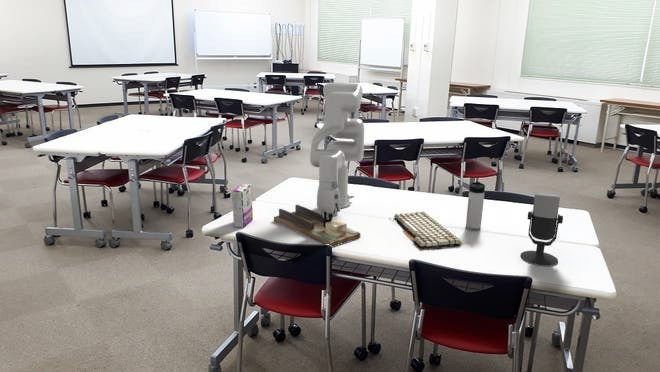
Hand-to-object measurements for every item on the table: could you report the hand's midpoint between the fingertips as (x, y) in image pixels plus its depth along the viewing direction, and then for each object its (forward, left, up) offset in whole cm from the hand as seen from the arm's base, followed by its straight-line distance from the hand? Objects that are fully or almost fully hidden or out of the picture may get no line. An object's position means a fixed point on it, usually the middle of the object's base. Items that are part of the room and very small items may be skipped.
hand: (327, 227), depth 203 cm
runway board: (0, -8, -3) cm, 9 cm away
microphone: (-45, +68, -3) cm, 82 cm away
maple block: (0, +5, -1) cm, 5 cm away
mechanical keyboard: (-34, +23, -4) cm, 41 cm away
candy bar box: (+20, -33, -3) cm, 39 cm away
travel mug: (-54, +34, -3) cm, 64 cm away
